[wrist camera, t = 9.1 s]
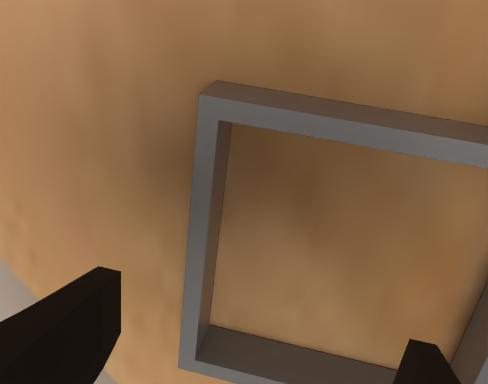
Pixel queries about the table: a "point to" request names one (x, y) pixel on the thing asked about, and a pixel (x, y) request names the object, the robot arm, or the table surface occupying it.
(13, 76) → the table surface
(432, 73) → the table surface
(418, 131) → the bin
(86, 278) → the robot arm
